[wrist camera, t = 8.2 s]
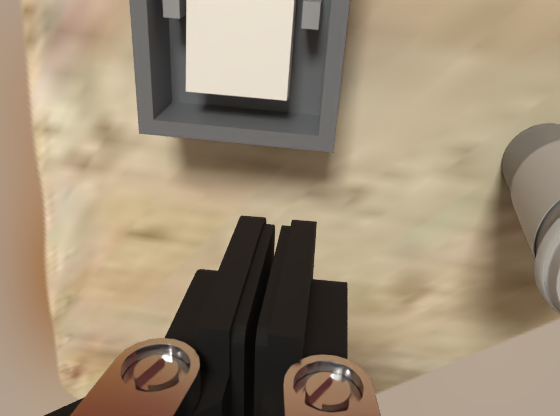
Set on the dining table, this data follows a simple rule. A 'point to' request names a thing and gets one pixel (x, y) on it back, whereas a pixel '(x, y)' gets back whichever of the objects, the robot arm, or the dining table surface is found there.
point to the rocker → (240, 47)
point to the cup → (538, 201)
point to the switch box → (235, 109)
